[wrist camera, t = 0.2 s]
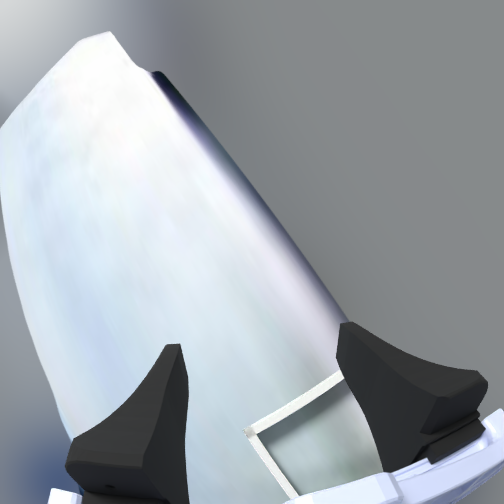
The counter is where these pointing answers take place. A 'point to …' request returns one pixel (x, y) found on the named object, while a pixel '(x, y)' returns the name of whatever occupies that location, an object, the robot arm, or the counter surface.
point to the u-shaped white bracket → (280, 415)
